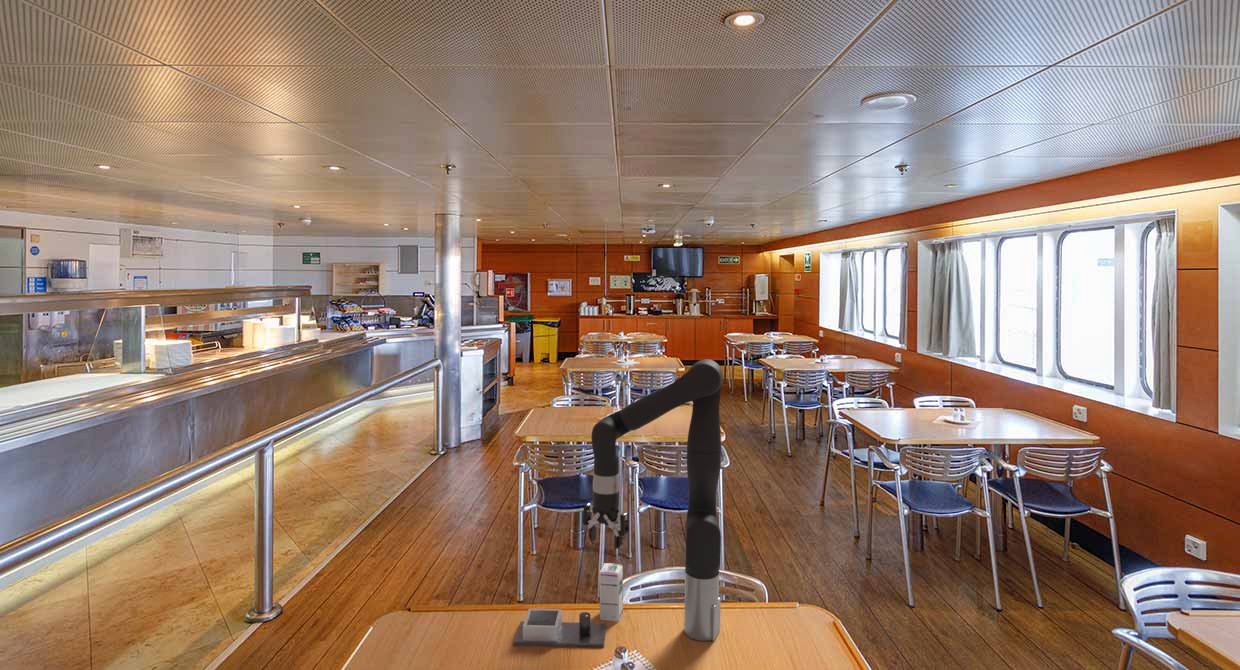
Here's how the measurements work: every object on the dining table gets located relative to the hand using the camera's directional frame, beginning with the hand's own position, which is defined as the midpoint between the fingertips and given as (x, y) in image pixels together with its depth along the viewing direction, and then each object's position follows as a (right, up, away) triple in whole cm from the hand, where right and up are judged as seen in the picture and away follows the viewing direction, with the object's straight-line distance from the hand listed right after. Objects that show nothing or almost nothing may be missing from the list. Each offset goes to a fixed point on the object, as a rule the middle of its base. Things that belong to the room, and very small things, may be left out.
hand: (605, 544), depth 178 cm
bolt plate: (-12, -23, -7) cm, 26 cm away
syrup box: (+2, -22, +3) cm, 22 cm away
